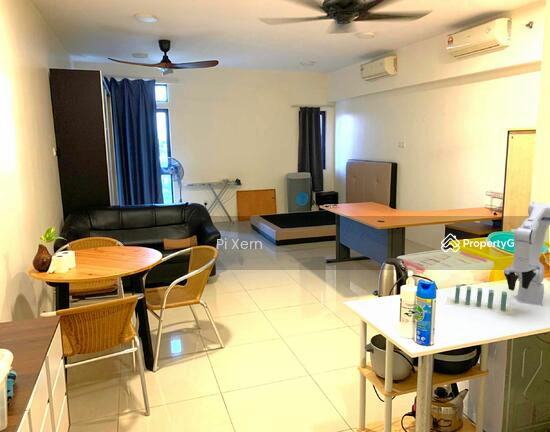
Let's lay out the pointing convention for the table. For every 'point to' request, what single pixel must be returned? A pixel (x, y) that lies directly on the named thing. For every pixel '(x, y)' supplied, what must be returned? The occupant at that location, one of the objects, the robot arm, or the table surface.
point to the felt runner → (483, 305)
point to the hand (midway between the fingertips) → (518, 289)
